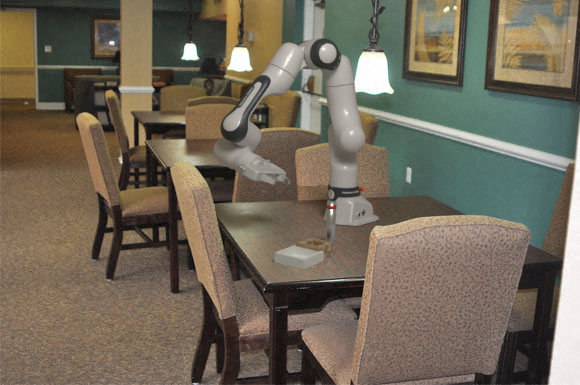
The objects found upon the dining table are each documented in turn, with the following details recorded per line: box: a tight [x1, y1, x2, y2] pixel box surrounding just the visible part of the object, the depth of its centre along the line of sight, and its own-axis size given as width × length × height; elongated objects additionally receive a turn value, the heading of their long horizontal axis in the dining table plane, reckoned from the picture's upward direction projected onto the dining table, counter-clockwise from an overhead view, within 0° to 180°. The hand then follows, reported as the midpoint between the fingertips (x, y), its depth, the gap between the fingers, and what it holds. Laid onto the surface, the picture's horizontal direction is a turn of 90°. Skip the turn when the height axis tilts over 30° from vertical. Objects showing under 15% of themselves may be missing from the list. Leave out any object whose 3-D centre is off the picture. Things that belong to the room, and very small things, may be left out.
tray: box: [273, 244, 324, 271], centre depth 205 cm, size 11×11×3 cm
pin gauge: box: [324, 200, 337, 246], centre depth 218 cm, size 3×3×16 cm
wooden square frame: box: [295, 237, 335, 260], centre depth 212 cm, size 9×9×4 cm
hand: (282, 182), depth 225 cm, fingers open, 8 cm apart
